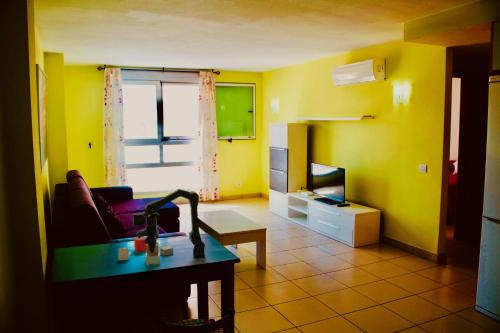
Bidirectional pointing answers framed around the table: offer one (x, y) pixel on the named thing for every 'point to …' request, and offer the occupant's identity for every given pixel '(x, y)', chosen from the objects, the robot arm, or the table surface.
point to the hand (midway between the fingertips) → (152, 250)
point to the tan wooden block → (166, 250)
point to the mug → (140, 244)
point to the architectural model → (124, 254)
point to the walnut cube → (155, 252)
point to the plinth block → (153, 259)
